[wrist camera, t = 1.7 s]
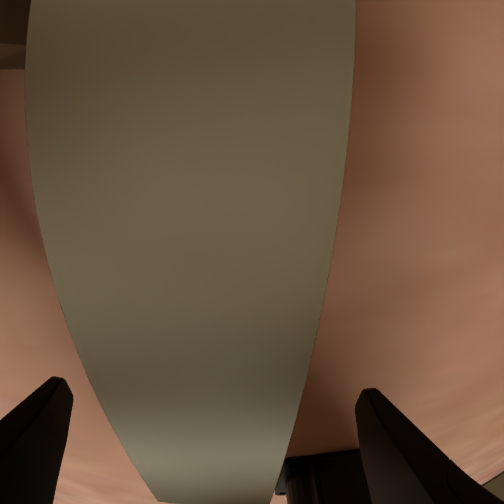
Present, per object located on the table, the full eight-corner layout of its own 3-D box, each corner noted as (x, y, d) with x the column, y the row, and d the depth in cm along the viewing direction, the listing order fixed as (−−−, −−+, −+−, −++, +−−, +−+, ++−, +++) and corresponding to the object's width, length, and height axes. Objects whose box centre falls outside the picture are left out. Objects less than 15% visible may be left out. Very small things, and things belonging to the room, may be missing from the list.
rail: (261, 404, 13) (269, 506, 9) (171, 402, 13) (157, 501, 9) (292, -1, 6) (352, -92, 2) (140, 1, 6) (46, -71, 2)
